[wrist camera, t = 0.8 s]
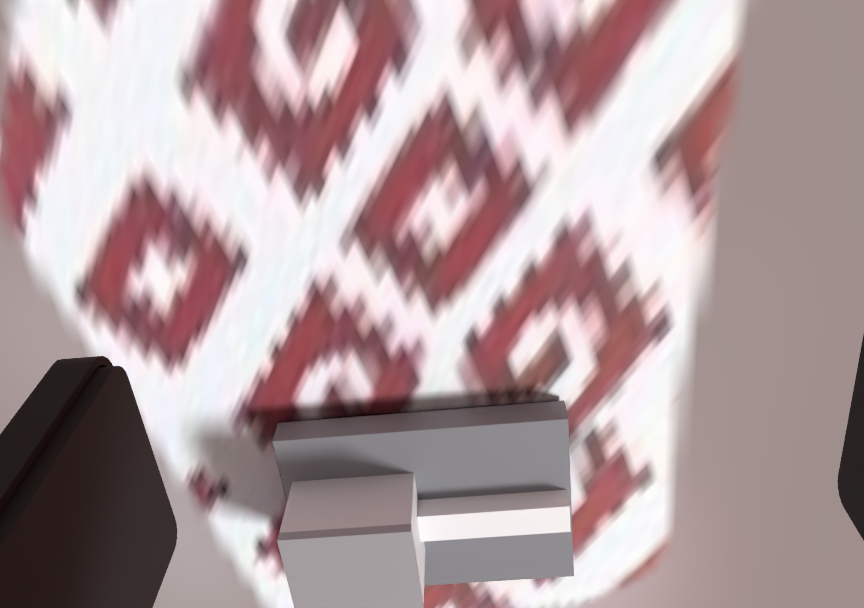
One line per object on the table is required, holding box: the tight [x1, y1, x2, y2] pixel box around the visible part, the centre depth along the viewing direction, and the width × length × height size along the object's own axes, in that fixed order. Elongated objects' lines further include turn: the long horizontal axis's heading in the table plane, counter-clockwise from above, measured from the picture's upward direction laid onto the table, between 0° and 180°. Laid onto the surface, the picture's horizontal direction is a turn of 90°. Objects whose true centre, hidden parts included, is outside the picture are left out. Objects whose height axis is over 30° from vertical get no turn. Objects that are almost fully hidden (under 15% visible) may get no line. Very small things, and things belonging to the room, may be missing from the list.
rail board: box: [272, 401, 574, 608], centre depth 40 cm, size 10×14×6 cm
